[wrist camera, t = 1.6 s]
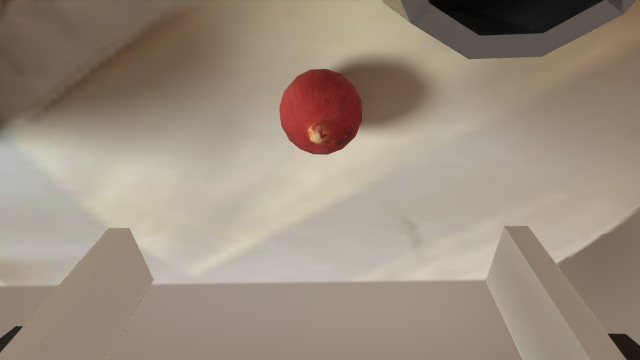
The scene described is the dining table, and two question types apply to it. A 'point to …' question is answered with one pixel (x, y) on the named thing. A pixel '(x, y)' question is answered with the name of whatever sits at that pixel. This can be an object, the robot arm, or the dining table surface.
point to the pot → (508, 23)
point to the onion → (320, 111)
